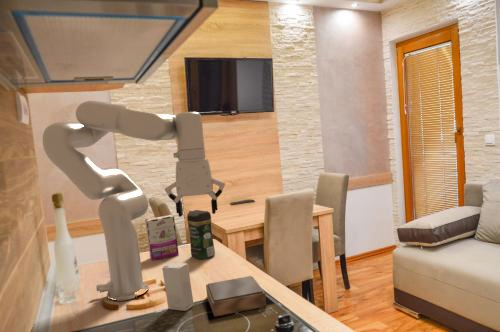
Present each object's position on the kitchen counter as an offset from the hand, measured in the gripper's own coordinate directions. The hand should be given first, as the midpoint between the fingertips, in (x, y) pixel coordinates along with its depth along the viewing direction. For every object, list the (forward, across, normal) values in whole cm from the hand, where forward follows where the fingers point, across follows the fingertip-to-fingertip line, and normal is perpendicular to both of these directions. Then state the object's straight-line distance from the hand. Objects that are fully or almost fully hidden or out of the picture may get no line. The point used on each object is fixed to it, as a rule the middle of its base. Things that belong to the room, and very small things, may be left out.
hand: (197, 214), depth 115 cm
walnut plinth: (+24, +9, -6) cm, 27 cm away
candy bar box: (+25, -22, +46) cm, 57 cm away
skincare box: (+24, -6, -7) cm, 26 cm away
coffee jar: (+25, -5, +40) cm, 48 cm away
